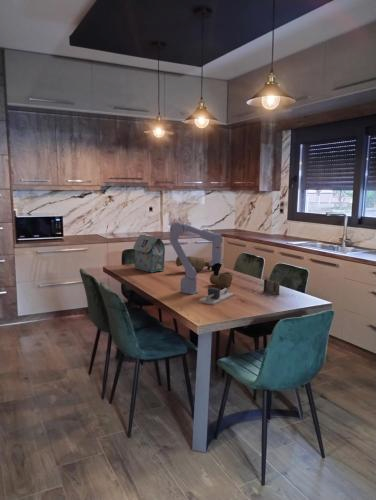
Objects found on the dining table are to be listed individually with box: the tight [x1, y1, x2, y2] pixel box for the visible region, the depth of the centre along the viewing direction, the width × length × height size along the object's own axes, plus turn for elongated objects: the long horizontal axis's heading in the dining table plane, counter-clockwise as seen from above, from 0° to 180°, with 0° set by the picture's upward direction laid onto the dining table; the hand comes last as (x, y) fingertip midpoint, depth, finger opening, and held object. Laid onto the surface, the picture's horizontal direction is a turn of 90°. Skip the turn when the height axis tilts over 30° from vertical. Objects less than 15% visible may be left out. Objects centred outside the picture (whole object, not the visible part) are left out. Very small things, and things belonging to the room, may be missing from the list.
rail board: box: [198, 288, 235, 306], centre depth 231 cm, size 24×10×4 cm, turn 146°
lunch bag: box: [133, 234, 166, 273], centre depth 303 cm, size 23×16×27 cm
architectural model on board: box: [263, 276, 281, 296], centre depth 245 cm, size 11×3×10 cm, turn 29°
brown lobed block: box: [209, 271, 233, 289], centre depth 257 cm, size 9×16×10 cm, turn 33°
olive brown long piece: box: [175, 255, 213, 272], centre depth 301 cm, size 10×12×30 cm
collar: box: [207, 287, 221, 299], centre depth 227 cm, size 3×6×5 cm, turn 56°
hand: (216, 275), depth 243 cm, fingers closed
